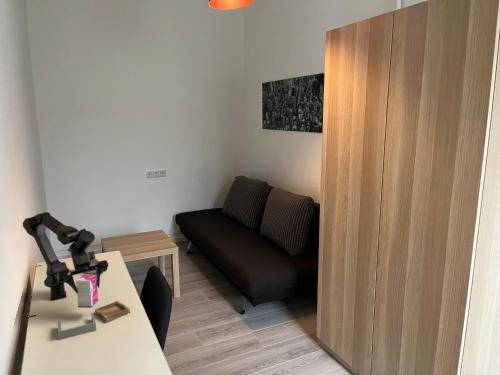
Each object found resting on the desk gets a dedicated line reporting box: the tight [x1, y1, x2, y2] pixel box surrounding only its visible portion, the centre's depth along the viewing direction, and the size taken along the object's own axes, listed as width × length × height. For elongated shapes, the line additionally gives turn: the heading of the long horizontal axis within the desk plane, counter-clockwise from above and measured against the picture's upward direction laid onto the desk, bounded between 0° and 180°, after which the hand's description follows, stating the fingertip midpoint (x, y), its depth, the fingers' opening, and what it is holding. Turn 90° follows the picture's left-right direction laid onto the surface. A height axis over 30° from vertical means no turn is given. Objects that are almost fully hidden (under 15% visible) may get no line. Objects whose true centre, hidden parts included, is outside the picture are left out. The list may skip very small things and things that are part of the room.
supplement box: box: [75, 274, 99, 309], centre depth 148 cm, size 6×6×12 cm
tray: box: [94, 300, 131, 324], centre depth 152 cm, size 10×10×2 cm
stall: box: [57, 312, 97, 340], centre depth 141 cm, size 9×13×3 cm
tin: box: [84, 258, 99, 275], centre depth 193 cm, size 15×3×8 cm, turn 71°
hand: (88, 290), depth 147 cm, fingers closed on supplement box, 8 cm apart
